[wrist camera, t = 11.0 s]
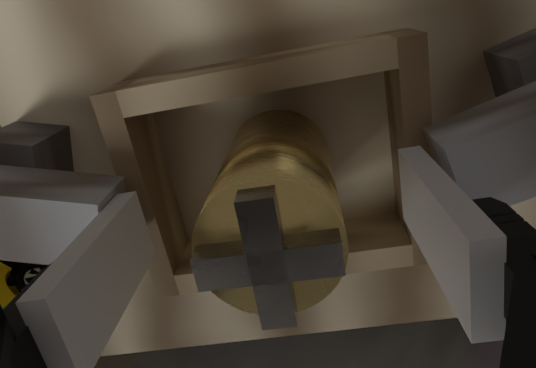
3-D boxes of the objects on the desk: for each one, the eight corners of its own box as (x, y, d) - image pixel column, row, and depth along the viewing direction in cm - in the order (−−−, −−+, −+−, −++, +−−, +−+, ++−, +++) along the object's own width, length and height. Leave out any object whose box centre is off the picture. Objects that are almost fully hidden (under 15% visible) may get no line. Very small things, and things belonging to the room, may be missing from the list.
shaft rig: (102, 342, 26) (41, 450, 20) (-51, -26, 19) (-227, -40, 12) (543, 291, 23) (637, 401, 17) (569, -171, 16) (755, -287, 9)
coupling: (240, 208, 21) (205, 341, 13) (221, 118, 19) (166, 204, 11) (334, 195, 20) (359, 327, 12) (322, 101, 19) (342, 180, 10)
